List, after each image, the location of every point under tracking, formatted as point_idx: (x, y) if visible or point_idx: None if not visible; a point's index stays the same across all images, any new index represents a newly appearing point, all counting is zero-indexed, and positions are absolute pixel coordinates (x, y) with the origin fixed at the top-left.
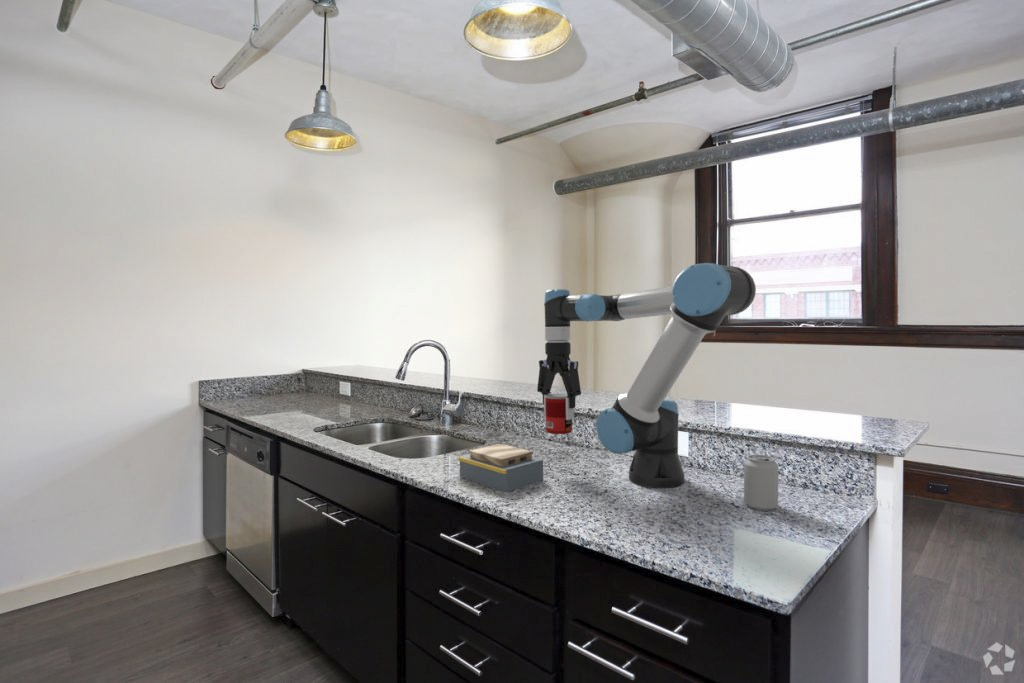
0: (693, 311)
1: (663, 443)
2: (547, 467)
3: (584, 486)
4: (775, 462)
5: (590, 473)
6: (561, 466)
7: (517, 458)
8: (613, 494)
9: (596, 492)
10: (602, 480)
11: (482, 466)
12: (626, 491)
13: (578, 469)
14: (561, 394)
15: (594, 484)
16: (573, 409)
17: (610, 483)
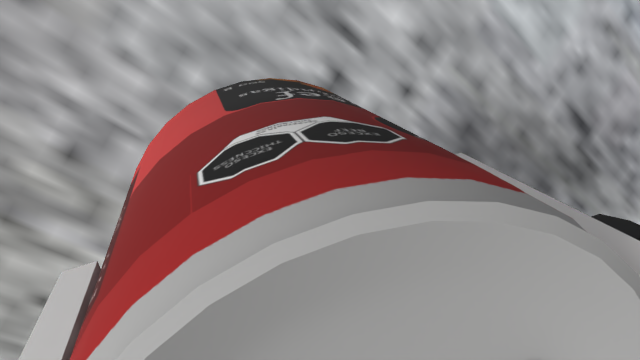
0: None
1: None
2: (133, 149)
3: (491, 163)
4: None
5: (362, 6)
6: (154, 62)
7: None
8: (620, 122)
9: (567, 165)
10: (481, 35)
11: None
12: (633, 52)
13: (263, 13)
14: (214, 348)
15: (498, 109)
16: (533, 195)
17: (532, 34)
